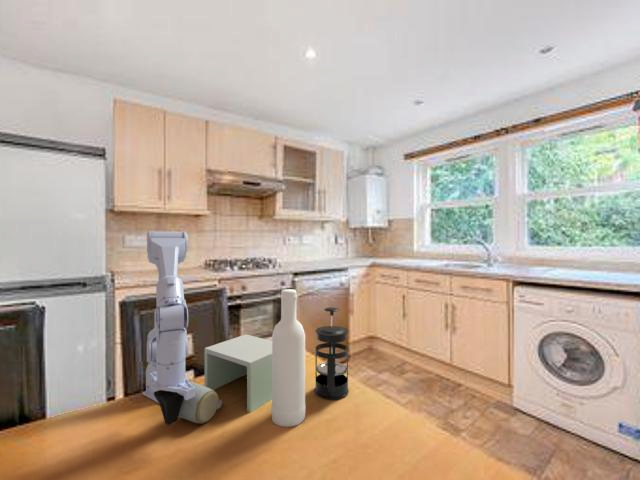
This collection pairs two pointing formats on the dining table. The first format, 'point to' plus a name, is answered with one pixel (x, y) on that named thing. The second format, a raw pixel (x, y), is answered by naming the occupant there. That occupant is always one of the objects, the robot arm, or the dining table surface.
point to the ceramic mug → (200, 405)
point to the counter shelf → (241, 367)
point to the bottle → (288, 365)
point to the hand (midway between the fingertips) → (171, 422)
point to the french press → (331, 362)
